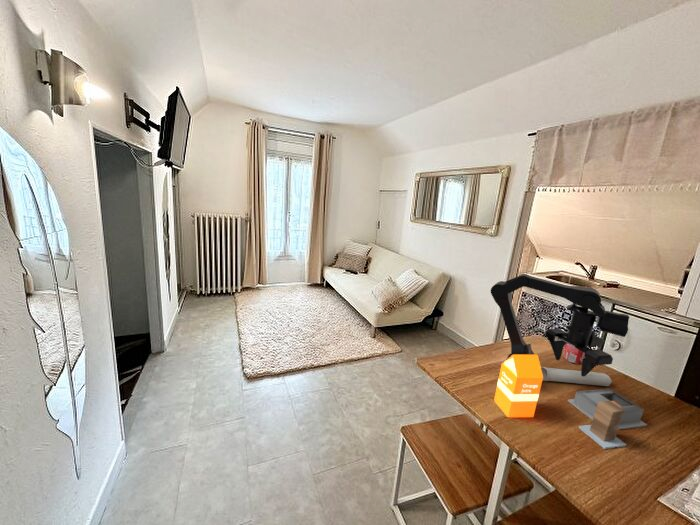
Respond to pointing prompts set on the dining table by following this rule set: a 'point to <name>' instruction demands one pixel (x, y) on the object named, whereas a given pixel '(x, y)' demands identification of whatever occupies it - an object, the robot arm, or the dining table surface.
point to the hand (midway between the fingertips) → (569, 367)
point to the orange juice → (519, 385)
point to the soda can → (573, 354)
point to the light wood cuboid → (606, 420)
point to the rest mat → (602, 443)
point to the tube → (575, 377)
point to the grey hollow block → (590, 399)
